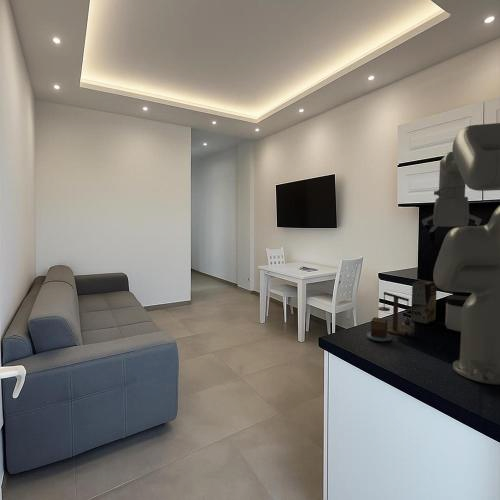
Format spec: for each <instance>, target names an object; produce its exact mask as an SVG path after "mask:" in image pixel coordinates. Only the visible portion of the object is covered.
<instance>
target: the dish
mask: <svg viewBox="0 0 500 500" xmlns="http://www.w3.org/2000/svg"><path fill="white" fill-rule="evenodd" d="M366 337H367V338H368V339H370V340H372V341H374V342H382V343H384V342H388V341H391V340H392V335H391V334H390V333H387V335H386V337H385V338H380V337H374V336H371V331H367V332H366Z"/></svg>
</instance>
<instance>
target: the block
mask: <svg viewBox="0 0 500 500" xmlns="http://www.w3.org/2000/svg"><path fill="white" fill-rule="evenodd" d="M388 321H389V320H388V318H381V317H376V316H375V317H373V318H372V319H371V321H370V332H371V336H374V337H380V338H385V337H386V335H387V327H388Z"/></svg>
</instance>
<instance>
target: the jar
mask: <svg viewBox="0 0 500 500" xmlns="http://www.w3.org/2000/svg"><path fill="white" fill-rule="evenodd" d="M468 297H469V296H464V295H456V294H454V295H453V294H452V295H450V294H449V295H447V296H446V303H445V322H444V323H445V324H444V325H445V327H446V329H448V330H451V331H455V332H460V333H461V322H462V308H463V305H464V303H465V301H466V300H467V299H468Z"/></svg>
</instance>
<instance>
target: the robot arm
mask: <svg viewBox="0 0 500 500" xmlns="http://www.w3.org/2000/svg"><path fill="white" fill-rule="evenodd" d="M451 150H452V151H449V152H447V153H445V155H444V156H443V157H442V159H440V161H439V176H438V177H439V180H438V190H435V191H434V190H433V195H434V196H437V198H435V201H434V207H433V214H432V215H430V216H428V217H424V218H423V219H422V220H421V223H422V225H423V226H424V228H425V229H426V230H427V231H428V232H429V233H430V234H429V235H430V236H429V242H431V244H433V245H434V244H435V243H436V232H435V230H436V229H437V228H438V227H439V228H451V229H450V230H449V231H448V232H447V233H446V235H445V237H444V239H443V242H442V244H441V247H440V250H439V252H438V256H437V258H436V261H435V264H434V268H433V273H432V277H433V278H432V279H433V282H434V283H435V285H436V286H437V288H438V289H439V290H441V291H444V292H449V293H451V292H454V293H471V294H470V295H469V296H467V297H468V299H467V300H466V301H465V303H464V305H463V308H462V322H461V332H460V346H459V359H457V360H454V361H453V363H452V369H453V370H454V372H456V374H459V375H460V376H462V377H464V378H466V379H469V380H471V381H474V382H477V383H481V384H487V385H488V384H489V385H496V386H497V385H500V205H498V206H497V207H496V208H495V210H494V211H493V213H492V214H491V217H490V219H489V221H488V223H485V224H484V225H480V224H481V223H482V221H483V219H482V218H480V217H478V216H475V215H473V214H471V213H470V207H469V206H470V205H469V204H470V203H469V197H468V196H466V186H467V188H469V189H470V190H474V191H478V192H484V191H485V192H486V191H491V192H492V191H500V122H496V123H495V122H494V123H486V124H474V125H468V126H466V127H463V128H462V129H461V130H460V131H459V132H458V133H457V134H456V135H455V138H454V140H453V142H452V149H451ZM431 220H432V224H433V226H432V227H431V226H430V225H429V223H428V222H430V221H431ZM470 220H473V221H475V222H474V224H473V225H469V221H470Z"/></svg>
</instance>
